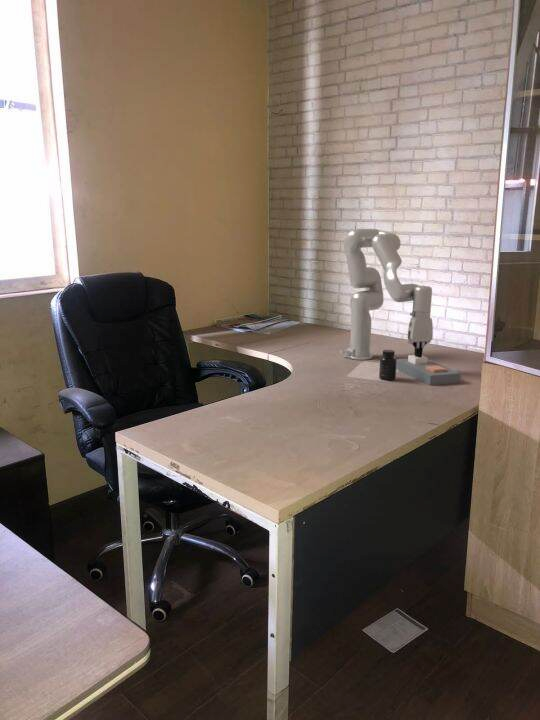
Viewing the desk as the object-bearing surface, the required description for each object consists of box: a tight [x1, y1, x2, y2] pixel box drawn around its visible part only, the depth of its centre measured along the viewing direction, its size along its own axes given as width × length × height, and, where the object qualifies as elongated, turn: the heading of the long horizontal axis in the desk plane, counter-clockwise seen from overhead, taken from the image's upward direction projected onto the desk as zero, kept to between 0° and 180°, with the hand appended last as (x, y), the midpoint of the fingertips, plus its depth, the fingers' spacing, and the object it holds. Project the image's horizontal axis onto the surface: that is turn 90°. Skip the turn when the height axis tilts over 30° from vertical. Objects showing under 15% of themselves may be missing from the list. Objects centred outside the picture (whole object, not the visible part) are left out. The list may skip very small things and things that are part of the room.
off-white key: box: [407, 354, 429, 364], centre depth 253 cm, size 6×6×5 cm
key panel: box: [396, 358, 461, 386], centre depth 247 cm, size 14×28×4 cm, turn 18°
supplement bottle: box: [378, 349, 397, 382], centre depth 240 cm, size 7×7×12 cm
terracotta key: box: [425, 365, 446, 373], centre depth 240 cm, size 6×6×5 cm
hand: (418, 356), depth 252 cm, fingers closed
